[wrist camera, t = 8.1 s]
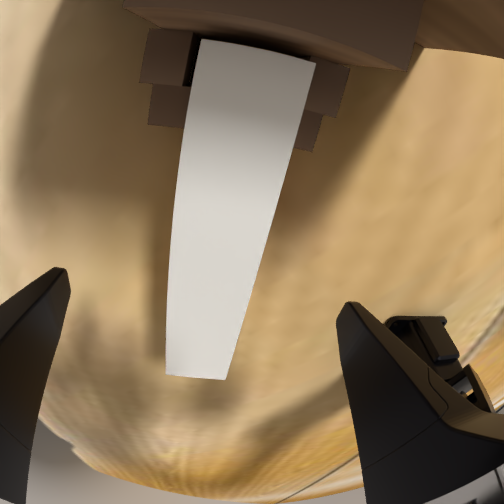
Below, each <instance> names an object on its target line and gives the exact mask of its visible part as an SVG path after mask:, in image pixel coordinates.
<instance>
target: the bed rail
mask: <svg viewBox="0 0 504 504" xmlns="http://www.w3.org/2000/svg"><path fill="white" fill-rule="evenodd" d="M315 66H316V63H313V62H310V61H306V60H303V59H299V58H296V57H292V56H288V55H284V54H280V53H276V52H272V51H267V50H263V49H258V48H253V47H248V46H243V45H238V44H232V43H226V42H219V41H213V40H205V39H202V40H201V44H200V48H199V53H198V58H197V62H196V67H195V72H194V77H193V82H192V87H191V93H190V98H189V104H188V109H187V115H186V121H185V127H184V134H183V140H182V147H181V154H180V162H179V169H178V177H177V185H176V194H175V203H174V212H173V223H172V234H171V246H170V259H169V275H168V293H167V318H166V375H174V376H184V377H194V378H206V379H219V380H226V376H227V373H228V370H229V366H230V363H231V360H232V356H233V353H234V350H235V346H236V343H237V340H238V336H239V333H240V330H241V326H242V323H243V320H244V316H245V313H246V309H247V306H248V303H249V299H250V296H251V292H252V289H253V286H254V282H255V279H256V275H257V272H258V269H259V265H260V262H261V258H262V255H263V251H264V248H265V244H266V241H267V237H268V234H269V231H270V227H271V224H272V220H273V217H274V213H275V210H276V206H277V203H278V199H279V196H280V192H281V189H282V185H283V181H284V178H285V174H286V171H287V167H288V164H289V160H290V157H291V153H292V149H293V146H294V142H295V139H296V135H297V132H298V128H299V124H300V121H301V117H302V113H303V110H304V106H305V103H306V99H307V95H308V92H309V88H310V84H311V81H312V77H313V73H314V70H315Z"/></svg>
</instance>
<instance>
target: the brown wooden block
mask: <svg viewBox="0 0 504 504" xmlns="http://www.w3.org/2000/svg"><path fill="white" fill-rule="evenodd" d="M122 8H124V9H127V10H129V11H131V12H132V13H134V14H136V15H138V16H140V17H142V18H144V19H146V20H148V21H150V22H152V23H153V24H155V25H157V26H159V27H161V28H162V29H149V33H148V38H147V42H146V48H145V53H144V58H143V64H142V70H141V76H140V82H139V83H152V84H153V89H152V95H151V102H150V109H149V117H148V125H157V126H167V127H176V128H184V127H185V121H186V115H187V109H188V104H189V98H190V93H191V87H192V83H191V82H190V78H191V73H192V68H193V63H194V59H195V54H196V49H197V45H198V40H199V38H202V39H209V40H217V41H223V42H229V43H235V44H241V45H246V46H251V47H256V48H261V49H265V50H270V51H274V52H278V53H282V54H286V55H290V56H294V57H296V58H299V59H303V60H306V61H310V62H313V63H316V66H315V70H314V73H313V77H312V81H311V84H310V88H309V92H308V95H307V99H306V103H305V106H304V110H303V113H302V117H301V121H300V124H299V128H298V132H297V135H296V139H295V142H294V146H293V148H297V149H302V150H306V151H310V152H312V151H313V148H314V144H315V141H316V138H317V134H318V131H319V128H320V124H321V121H322V117H323V114H324V115H327V116H330V117H334V118H336V116H337V113H338V109H339V106H340V103H341V99H342V96H343V92H344V89H345V85H346V82H347V78H348V75H349V71H350V68H347V67H344V66H342V65H339V64H344V65H357V66H367V67H376V68H384V69H392V70H399V71H405V72H407V69H408V65H409V62H410V58H411V54H412V50H413V46H414V43H417V44H419V45H421V46H422V47H424V48H432V49H444V50H453V51H461V52H468V53H475V54H481V55H487V56H492V57H497V58H502V59H504V0H124V2H123V6H122Z"/></svg>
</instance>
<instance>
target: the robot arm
mask: <svg viewBox="0 0 504 504" xmlns="http://www.w3.org/2000/svg"><path fill="white" fill-rule="evenodd" d="M70 294H71V288H70V283H69V278H68V273H67V271H66V269H64V268H59V267H54V268H52V269H50V270H49V271H47V272H46V273H44V274H43V275H42V276H40V277H39V278H37V279H36V280H34V281H33V282H31V283H30V284H29V285H27V286H26V287H24V288H23V289H22V290H20V291H19V292H17V293H16V294H15V295H13V296H12V297H11V298H9V299H8V300H7V301H5V302H4V303H3V304H1V305H0V498H1V499H3V500H6V501H9V502H11V503H14V504H26V491H27V480H28V472H29V465H30V458H31V450H32V445H33V439H34V434H35V428H36V423H37V419H38V414H39V410H40V405H41V401H42V397H43V393H44V389H45V385H46V382H47V378H48V375H49V371H50V368H51V364H52V361H53V358H54V354H55V351H56V348H57V345H58V342H59V339H60V335H61V331H62V327H63V323H64V318H65V314H66V310H67V306H68V302H69V299H70ZM446 323H447V320H446V318H445V317H444V316H395V317H393V318H391V319H390V320H389V322H388V323H387V325H386V326H384V325H383V324H382V323H381V322H380V321H379V320H378V319H377V318H375V317H374V316H373V315H372V314H371V313H370V312H369V311H368V310H366V309H365V308H364V307H363V306H362V305H361V304H360V303H358V302H351V301H348V302H346V303H345V305H344V306H343V308H342V310H341V312H340V314H339V315H338V317H337V320H336V328H337V336H338V344H339V353H340V361H341V366H342V371H343V376H344V380H345V385H346V389H347V394H348V399H349V404H350V409H351V414H352V419H353V424H354V429H355V434H356V440H357V445H358V451H359V457H360V463H361V469H362V476H363V482H364V489H365V496H366V503H367V504H504V414H496V412H495V410H494V407H493V405H492V402H491V400H490V397H489V395H488V393H487V391H486V389H485V387H484V385H483V383H482V382H481V380H480V378H479V376H478V375H477V373H476V372H475V371H474V370H473V368H472V367H471V366H470V365H469V364H468V365H467V366H465V367H464V368H462V366H461V364H460V363H459V361H458V358H459V356H460V355H459V351H458V350H457V348H456V346H455V344H454V343H453V341H452V339H451V338H450V336H449V334H448V333H447V331H446V329H445V328H444V326H445V325H446ZM471 389H473V391H474V392H473V393H471V394H470V395H469V396H467V394H466V393H467V392H468V391H470V390H471Z"/></svg>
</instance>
